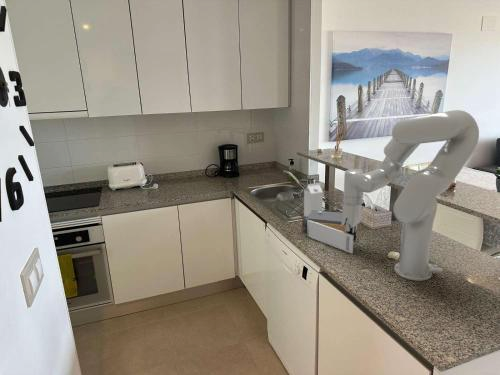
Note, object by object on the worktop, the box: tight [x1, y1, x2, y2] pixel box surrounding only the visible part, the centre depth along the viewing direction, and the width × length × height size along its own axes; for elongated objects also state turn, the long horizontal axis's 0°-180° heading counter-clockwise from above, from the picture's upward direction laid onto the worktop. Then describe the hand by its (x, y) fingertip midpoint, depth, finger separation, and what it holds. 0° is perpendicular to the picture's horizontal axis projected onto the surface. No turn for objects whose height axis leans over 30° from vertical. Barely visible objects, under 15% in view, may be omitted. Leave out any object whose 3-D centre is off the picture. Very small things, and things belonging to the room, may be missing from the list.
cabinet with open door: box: [301, 210, 347, 233], centre depth 163 cm, size 22×12×10 cm, turn 69°
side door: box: [306, 220, 354, 254], centre depth 151 cm, size 25×2×8 cm, turn 39°
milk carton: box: [303, 182, 324, 217], centre depth 182 cm, size 7×7×19 cm
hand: (351, 240), depth 146 cm, fingers closed
